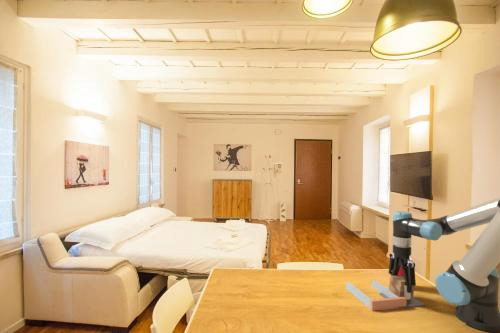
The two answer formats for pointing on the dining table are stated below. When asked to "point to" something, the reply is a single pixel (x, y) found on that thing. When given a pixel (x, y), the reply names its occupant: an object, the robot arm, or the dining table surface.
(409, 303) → the coaster
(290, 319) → the dining table surface
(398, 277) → the block
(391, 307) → the channel
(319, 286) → the dining table surface
